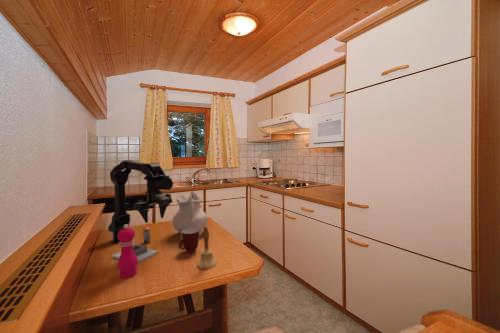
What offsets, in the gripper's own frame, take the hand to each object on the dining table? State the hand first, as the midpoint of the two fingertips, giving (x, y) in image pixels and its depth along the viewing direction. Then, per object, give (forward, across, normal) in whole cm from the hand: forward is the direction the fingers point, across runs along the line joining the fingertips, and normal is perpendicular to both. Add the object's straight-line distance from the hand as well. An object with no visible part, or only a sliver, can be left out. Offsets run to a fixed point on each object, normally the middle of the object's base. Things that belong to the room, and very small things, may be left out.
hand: (154, 220), depth 116 cm
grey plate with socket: (+14, -9, +3) cm, 17 cm away
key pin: (+15, +4, +11) cm, 19 cm away
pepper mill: (+15, -22, -11) cm, 28 cm away
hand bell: (+15, -1, -33) cm, 36 cm away
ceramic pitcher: (+15, +23, -3) cm, 27 cm away
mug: (+15, +4, -18) cm, 24 cm away
